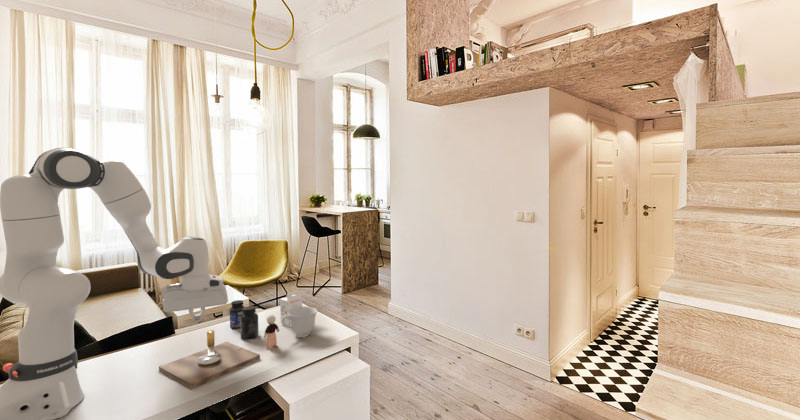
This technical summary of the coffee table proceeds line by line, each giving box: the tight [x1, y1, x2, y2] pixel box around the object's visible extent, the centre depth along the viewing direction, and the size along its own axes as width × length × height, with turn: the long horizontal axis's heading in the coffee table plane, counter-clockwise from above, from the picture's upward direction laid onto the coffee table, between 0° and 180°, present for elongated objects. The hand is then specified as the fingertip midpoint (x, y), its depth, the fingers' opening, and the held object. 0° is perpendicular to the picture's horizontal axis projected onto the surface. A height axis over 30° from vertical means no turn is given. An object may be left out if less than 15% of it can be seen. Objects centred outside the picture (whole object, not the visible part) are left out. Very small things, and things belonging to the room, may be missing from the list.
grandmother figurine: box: [263, 314, 280, 351], centre depth 141 cm, size 8×4×13 cm, turn 168°
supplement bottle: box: [239, 305, 259, 341], centre depth 151 cm, size 7×7×12 cm
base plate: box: [158, 341, 261, 390], centre depth 128 cm, size 24×20×2 cm
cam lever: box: [198, 329, 221, 366], centre depth 130 cm, size 14×7×6 cm, turn 27°
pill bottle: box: [229, 299, 245, 330], centre depth 162 cm, size 6×6×11 cm
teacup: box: [282, 306, 318, 338], centre depth 153 cm, size 12×15×10 cm
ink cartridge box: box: [279, 289, 303, 325], centre depth 167 cm, size 9×5×15 cm, turn 147°
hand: (197, 319), depth 133 cm, fingers closed
